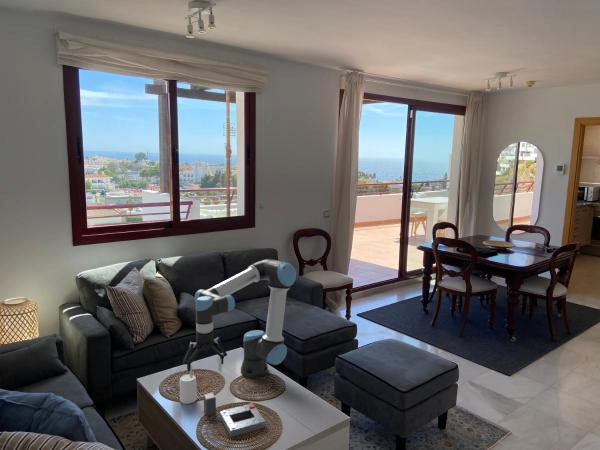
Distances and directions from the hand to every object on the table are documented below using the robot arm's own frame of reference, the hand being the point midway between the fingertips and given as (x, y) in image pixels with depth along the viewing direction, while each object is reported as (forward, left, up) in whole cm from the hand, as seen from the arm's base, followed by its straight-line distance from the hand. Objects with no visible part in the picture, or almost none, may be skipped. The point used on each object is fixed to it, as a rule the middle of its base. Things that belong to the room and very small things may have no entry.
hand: (205, 373), depth 207 cm
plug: (-1, +1, -19) cm, 19 cm away
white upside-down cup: (+5, -14, -19) cm, 24 cm away
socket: (-12, +15, -19) cm, 27 cm away
